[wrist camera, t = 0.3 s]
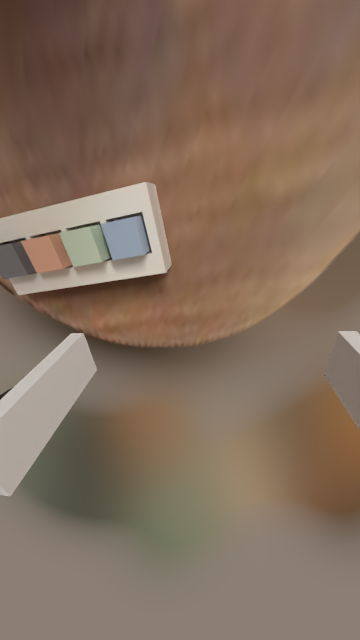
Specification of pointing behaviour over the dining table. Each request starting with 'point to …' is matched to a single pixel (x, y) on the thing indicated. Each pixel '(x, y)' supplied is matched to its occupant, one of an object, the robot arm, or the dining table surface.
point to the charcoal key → (14, 261)
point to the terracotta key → (47, 253)
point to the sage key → (85, 245)
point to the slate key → (126, 237)
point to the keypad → (97, 212)
